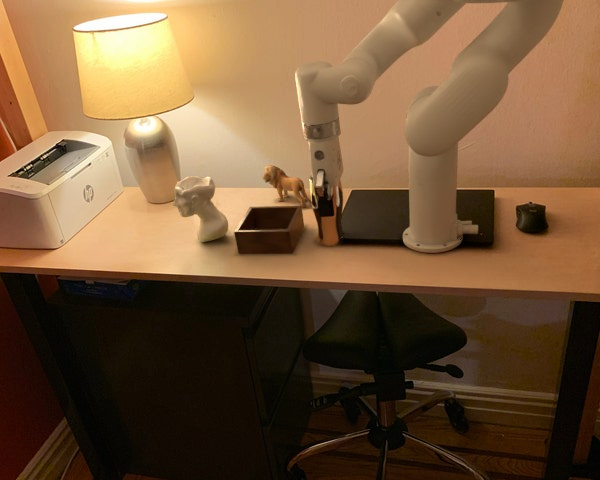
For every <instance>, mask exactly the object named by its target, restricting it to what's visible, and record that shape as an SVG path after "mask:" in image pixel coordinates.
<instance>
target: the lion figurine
mask: <svg viewBox="0 0 600 480" xmlns="http://www.w3.org/2000/svg"><path fill="white" fill-rule="evenodd" d="M261 178H262V180H264V183H266V184H267V183H268V184H269V185H271V186H272V187H273V189H276V191H277V194H278V197H279V198H278V199H277V201H278V202H283V201H284V198H287V197H288V195H289V194H288V193H289V192H292V193H293V194H294V196H295V197H296V198H297V200H298V201H300V203H301V204H300V205H299V206H302V209H303V208H305V207H306V202H305V201H306V200H307V202H309V203H310V204H311V199H310V198H309V197H308V194H307V192H306V188H305V184H304V182H303V180H302V179H300V177H291V176H288V175H287V174H286V172H285V171H284V170H283V169H281V168H280V167H278V166H275V165H271V164H269V165H267V166H265V167H264V174H263V175H262V177H261Z"/></svg>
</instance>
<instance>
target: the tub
mask: <svg viewBox="0 0 600 480" xmlns="http://www.w3.org/2000/svg"><path fill="white" fill-rule="evenodd" d="M304 229H305V223H304V214H303V208H302V206H300V205H273V206H270V205H269V206H267V205H265V206H249V208H247V210H246V212H245V213H244V215H243V217H242V219H241V220H240V221H239V223H238V224H237V227H236V228H235V229H234V231H233V234H234V239H235V244H236V249H237V252H238V254H240V255H241V254H243V255H246V254H247V255H248V254H249V255H251V254H252V255H253V254H257V255H258V254H261V255H263V254H264V255H265V254H266V255H269V254H271V255H273V254H274V255H278V254H282V255H284V254H285V255H287V254H288V255H289V254H290V255H291V254H293V253H294V251H295V249H296V248H297V245H298V242H299V240H300V238H301V236H302V233H303V231H304Z"/></svg>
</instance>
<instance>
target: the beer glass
mask: <svg viewBox="0 0 600 480" xmlns="http://www.w3.org/2000/svg"><path fill="white" fill-rule="evenodd" d="M308 180H309V197H310V198H309V199H310V200H311V203H310V204H311V208H312V211H313V214H314V218H315V220H316V224H317V242H318V244H319V245H321V246H325V247H333V246H338V245H340V244H342V243H343V242H344V241H345V239H346V238H345V234H344V229H343V226H342V217H343V210H344V209H343V208H344V207H343V206H344V194H343V193H344V192H343V185H342V178H341V179H340V182H339V184H338V185H337V187H334V186H332V187H331V198H333V205H334V213H335V214H334V216H333V217H320V216H319V210H318V203H317V190H316V187H315V186H314V183H313V177H312V174H311V175H310V176H309V178H308ZM324 184H328V182H325V183H324ZM324 191H326V192H328V188H327V189H324ZM343 235H344V236H343ZM342 236H343V238H341V237H342ZM340 238H341V239H340Z"/></svg>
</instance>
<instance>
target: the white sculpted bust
mask: <svg viewBox="0 0 600 480" xmlns="http://www.w3.org/2000/svg"><path fill="white" fill-rule="evenodd" d="M215 192H216V184H215V182H214V179H212V178H211V177H210V176H206V177H204V178H203V177H201V176H194V175H191V176H186V177H185V178H184V179H182V180H180V181H177V183H176V184H175V187H174V189H173V193H174V196H175V197H174V202H173V204H172V205H173V207H176V208H177V210H178V212H179V215H180V217H181V218H190V217H193V216H195V215H197V216H198V218H199V223H198V227H197V233H196V234H197V239H198V240H199V242H201V243H207V242H211V241H213V240H217V239H220V238H222V237H224V236H226V234H227V233H228V230H229V220H228V218H227V216H226V215H225V214H224V213H223V212H222V211H220V210H219V209H218V207H217V206H216V205H215V204H214V201H212V199H213V198H214V195H215Z"/></svg>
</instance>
